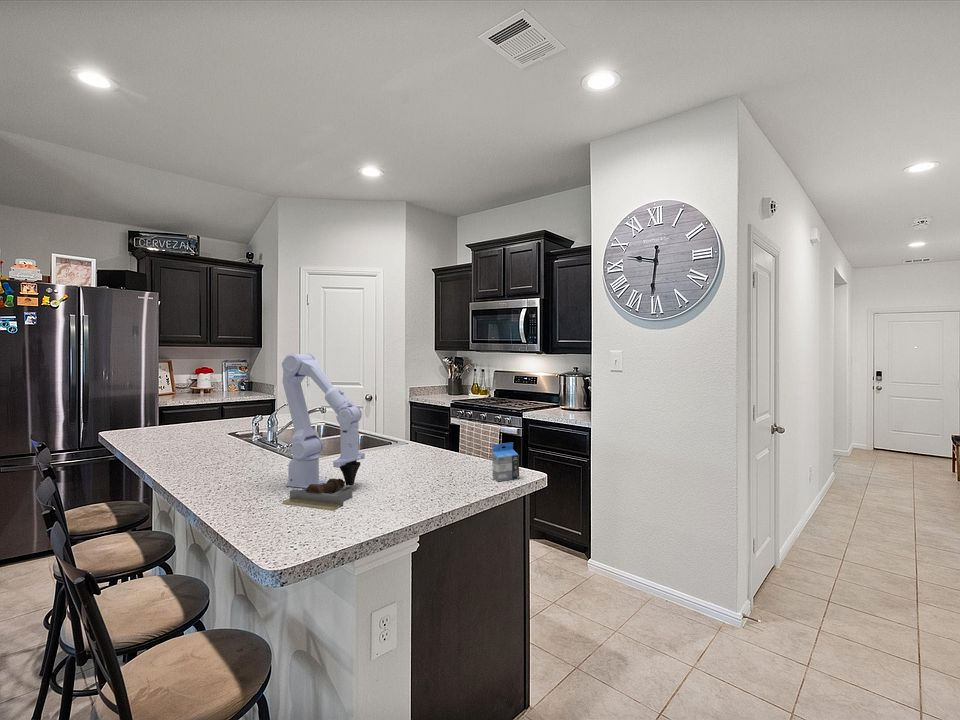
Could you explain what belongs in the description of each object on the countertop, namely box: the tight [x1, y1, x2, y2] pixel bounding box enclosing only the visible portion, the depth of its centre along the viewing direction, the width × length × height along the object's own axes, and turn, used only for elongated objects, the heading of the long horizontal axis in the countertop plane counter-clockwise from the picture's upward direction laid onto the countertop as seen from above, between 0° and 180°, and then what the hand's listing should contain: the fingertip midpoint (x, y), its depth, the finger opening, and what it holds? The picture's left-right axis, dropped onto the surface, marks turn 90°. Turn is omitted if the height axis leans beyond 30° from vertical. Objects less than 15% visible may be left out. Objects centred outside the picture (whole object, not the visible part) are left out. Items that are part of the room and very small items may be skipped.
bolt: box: [306, 478, 346, 494], centre depth 157 cm, size 6×5×15 cm
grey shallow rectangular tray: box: [281, 484, 353, 511], centre depth 150 cm, size 18×12×3 cm
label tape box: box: [491, 442, 520, 482], centre depth 175 cm, size 9×4×12 cm, turn 120°
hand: (349, 485), depth 164 cm, fingers closed
